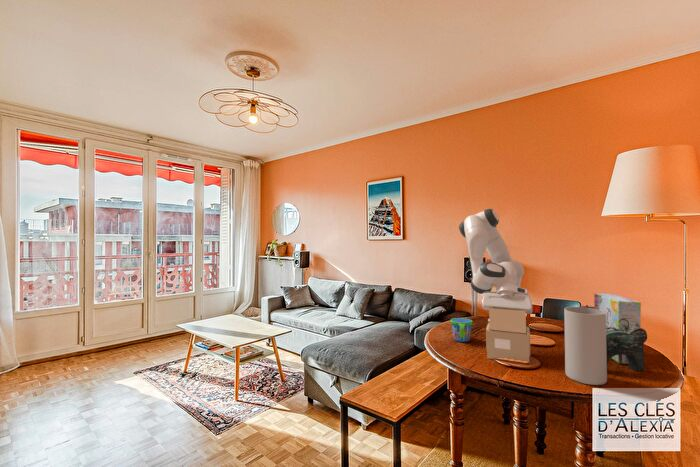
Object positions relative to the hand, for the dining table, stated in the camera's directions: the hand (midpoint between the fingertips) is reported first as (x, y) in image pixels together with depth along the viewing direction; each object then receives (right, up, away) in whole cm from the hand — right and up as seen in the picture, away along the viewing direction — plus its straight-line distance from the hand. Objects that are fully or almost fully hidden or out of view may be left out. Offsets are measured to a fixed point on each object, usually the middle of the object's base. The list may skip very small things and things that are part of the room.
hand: (506, 319), depth 142 cm
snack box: (+49, -17, +2) cm, 52 cm away
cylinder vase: (+20, -17, -20) cm, 33 cm away
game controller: (+38, -17, -13) cm, 44 cm away
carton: (+3, -17, +4) cm, 18 cm away
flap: (0, 0, -1) cm, 1 cm away
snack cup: (-10, -18, +26) cm, 33 cm away
